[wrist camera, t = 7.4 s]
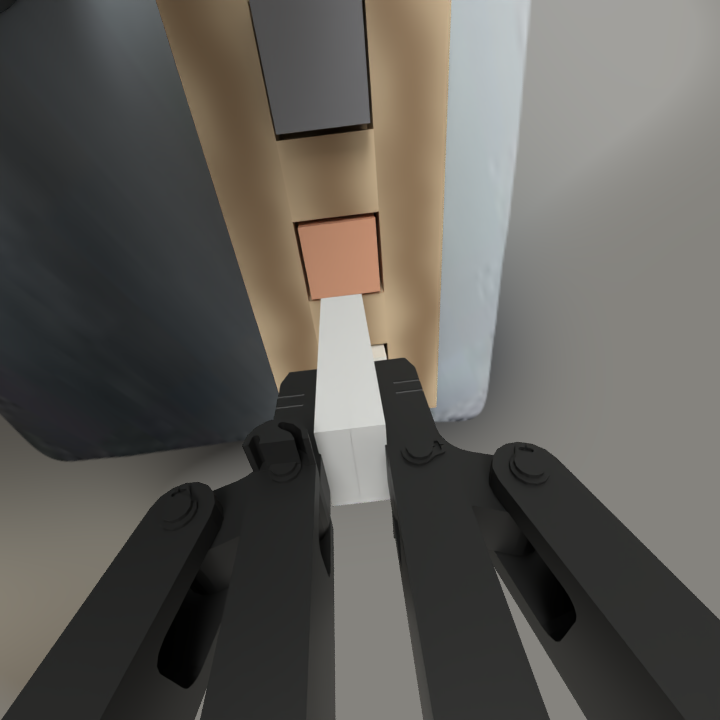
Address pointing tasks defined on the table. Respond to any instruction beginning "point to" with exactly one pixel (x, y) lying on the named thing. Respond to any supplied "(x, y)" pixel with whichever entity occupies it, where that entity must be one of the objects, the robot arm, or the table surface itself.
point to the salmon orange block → (340, 255)
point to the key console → (327, 172)
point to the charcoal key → (313, 62)
